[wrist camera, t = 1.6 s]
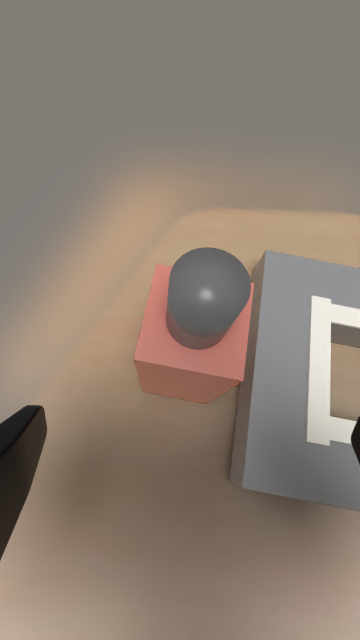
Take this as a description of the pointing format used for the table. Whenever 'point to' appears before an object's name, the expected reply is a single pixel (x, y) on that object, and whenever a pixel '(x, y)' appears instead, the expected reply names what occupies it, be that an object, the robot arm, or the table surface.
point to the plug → (195, 327)
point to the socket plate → (297, 383)
